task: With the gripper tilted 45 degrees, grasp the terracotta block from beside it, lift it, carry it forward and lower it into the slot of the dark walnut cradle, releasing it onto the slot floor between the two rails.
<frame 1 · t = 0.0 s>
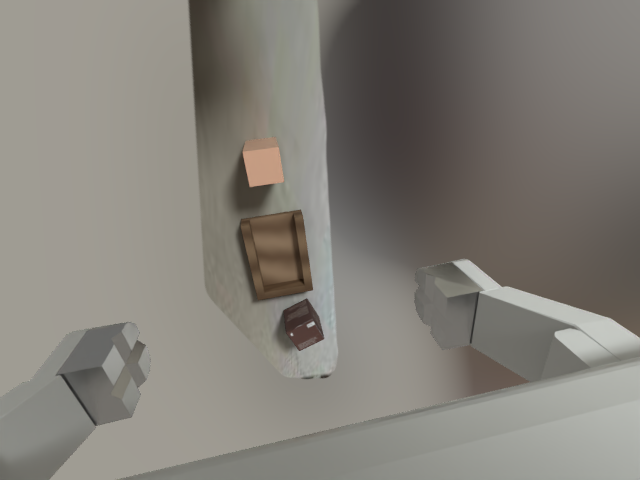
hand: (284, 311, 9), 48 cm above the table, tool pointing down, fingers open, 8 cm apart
block: (263, 154, 54), on the table
cradle: (278, 251, 62), on the table
box: (301, 312, 70), on the table
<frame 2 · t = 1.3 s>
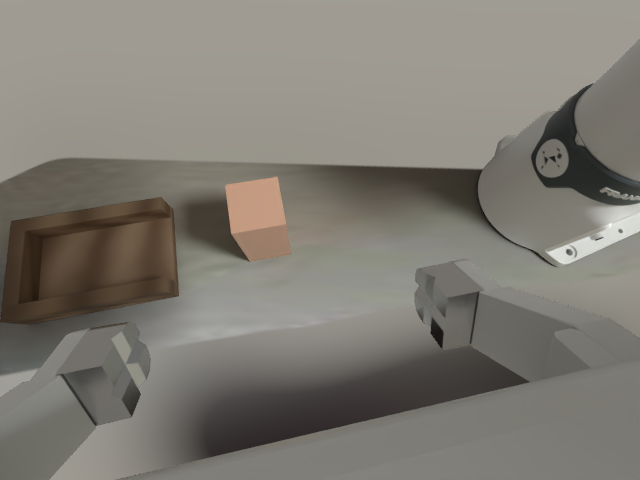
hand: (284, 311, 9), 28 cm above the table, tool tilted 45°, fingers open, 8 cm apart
block: (267, 238, 39), on the table
cradle: (106, 263, 37), on the table
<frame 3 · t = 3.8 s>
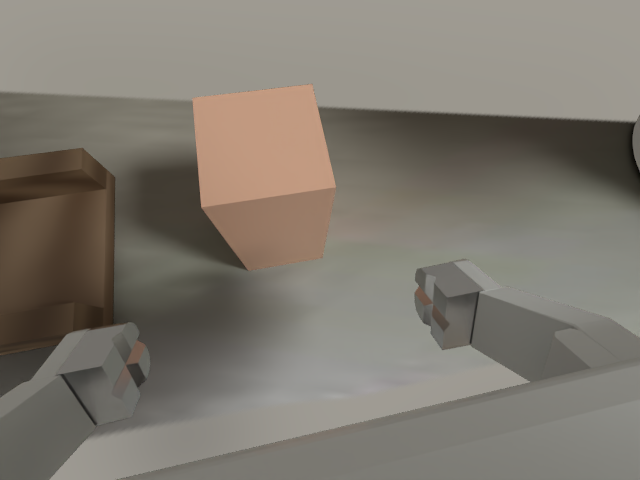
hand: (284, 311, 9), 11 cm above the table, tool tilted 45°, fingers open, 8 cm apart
block: (280, 229, 22), on the table
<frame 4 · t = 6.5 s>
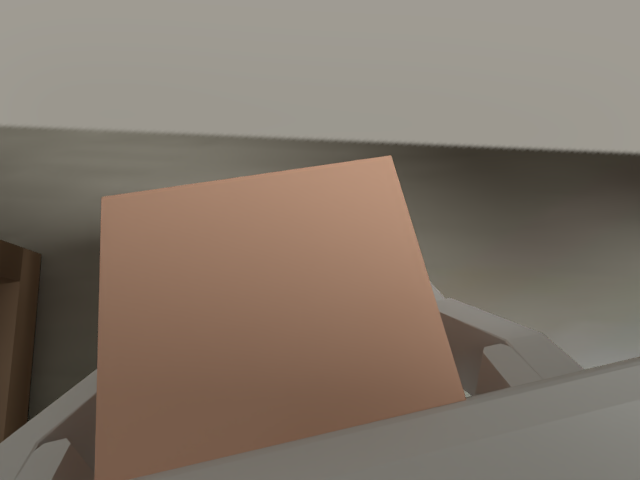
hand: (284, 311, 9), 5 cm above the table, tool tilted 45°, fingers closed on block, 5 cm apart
block: (294, 338, 14), on the table, touching gripper
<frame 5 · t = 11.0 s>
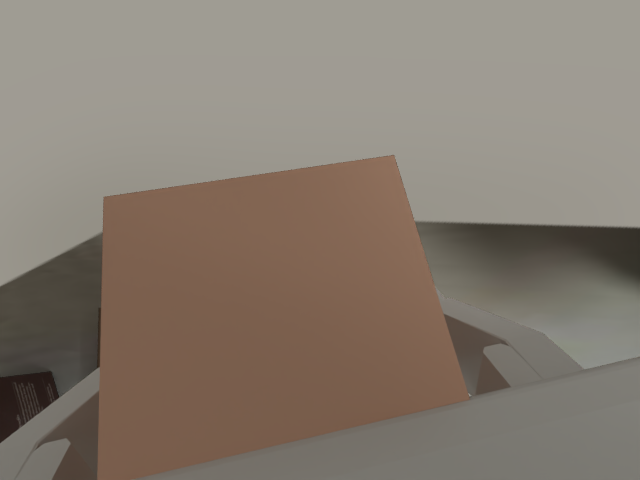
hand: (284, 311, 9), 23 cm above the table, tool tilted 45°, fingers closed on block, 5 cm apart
block: (295, 339, 14), point 17 cm above the table, touching gripper
box: (30, 419, 28), on the table
when the fingers open (8 cm above the table, at t = 15.7 s): block drops 1 cm, resting on cradle.
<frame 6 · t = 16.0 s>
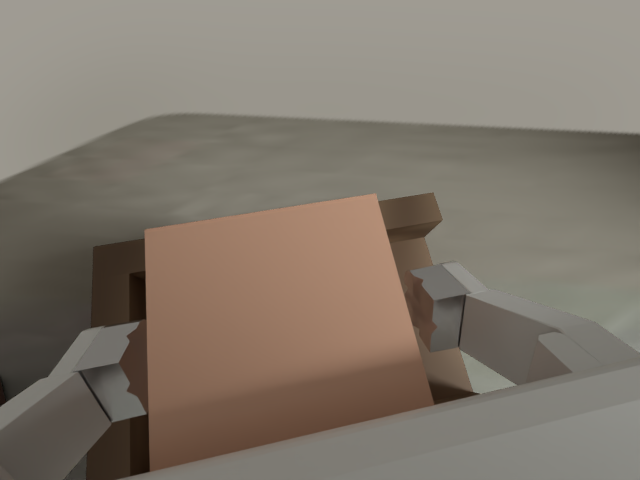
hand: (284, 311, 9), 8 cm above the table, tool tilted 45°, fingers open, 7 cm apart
block: (295, 340, 16), point 1 cm above the table, touching cradle
cradle: (294, 340, 16), on the table
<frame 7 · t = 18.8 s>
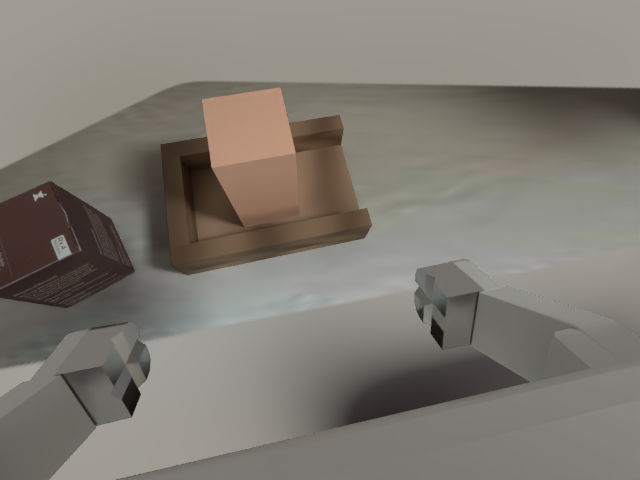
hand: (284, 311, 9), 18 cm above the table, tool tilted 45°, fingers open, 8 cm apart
block: (267, 196, 29), point 1 cm above the table, touching cradle
cradle: (268, 201, 30), on the table
box: (93, 262, 28), on the table
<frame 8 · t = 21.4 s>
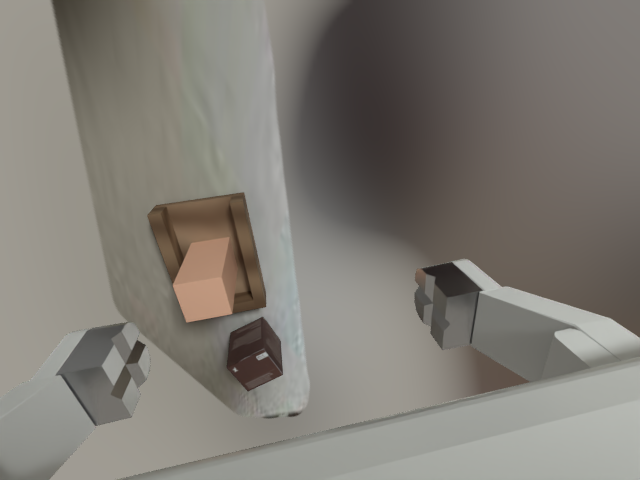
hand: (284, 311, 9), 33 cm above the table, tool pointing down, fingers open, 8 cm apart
block: (215, 256, 43), point 1 cm above the table, touching cradle
cradle: (216, 253, 44), on the table
box: (256, 334, 52), on the table
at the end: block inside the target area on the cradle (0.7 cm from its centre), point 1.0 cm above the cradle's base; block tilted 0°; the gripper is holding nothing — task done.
